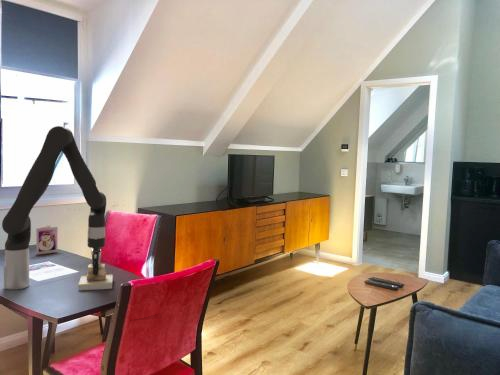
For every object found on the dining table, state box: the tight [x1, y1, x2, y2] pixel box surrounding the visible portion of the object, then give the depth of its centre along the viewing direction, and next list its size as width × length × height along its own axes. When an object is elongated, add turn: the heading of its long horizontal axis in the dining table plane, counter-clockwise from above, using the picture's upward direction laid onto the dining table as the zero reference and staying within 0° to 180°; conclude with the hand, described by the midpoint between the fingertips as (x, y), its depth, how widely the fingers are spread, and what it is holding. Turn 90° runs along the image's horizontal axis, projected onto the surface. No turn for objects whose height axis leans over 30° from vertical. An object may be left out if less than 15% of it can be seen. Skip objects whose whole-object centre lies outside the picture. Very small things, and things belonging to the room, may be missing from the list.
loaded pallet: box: [86, 263, 107, 281], centre depth 187 cm, size 8×5×6 cm, turn 108°
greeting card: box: [35, 225, 58, 255], centre depth 240 cm, size 11×7×15 cm, turn 132°
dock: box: [77, 274, 114, 291], centre depth 187 cm, size 14×12×3 cm
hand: (96, 272), depth 187 cm, fingers closed on loaded pallet, 5 cm apart
